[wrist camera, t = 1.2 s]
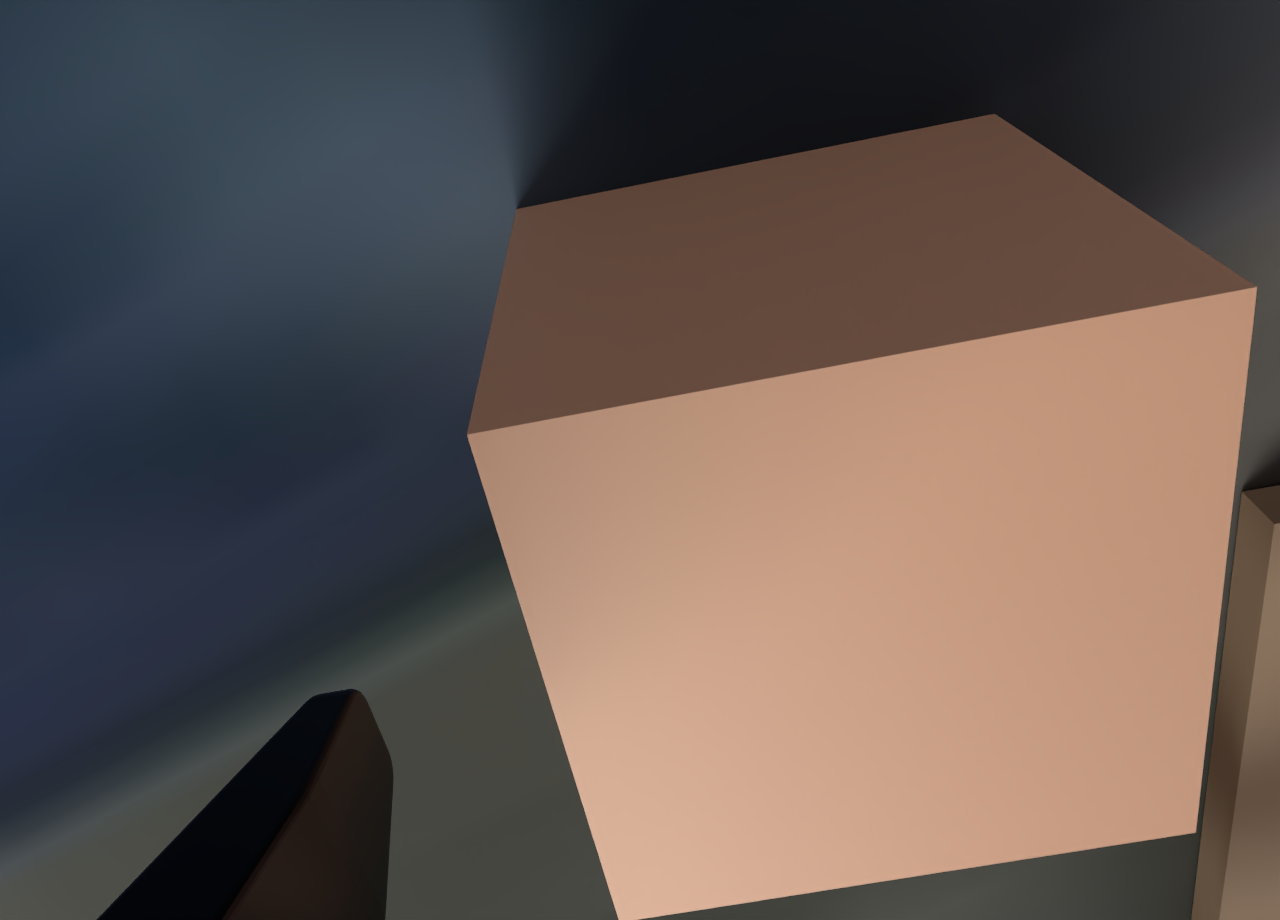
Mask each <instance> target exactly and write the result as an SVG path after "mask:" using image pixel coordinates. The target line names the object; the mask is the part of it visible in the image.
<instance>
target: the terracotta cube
mask: <svg viewBox="0 0 1280 920" xmlns="http://www.w3.org/2000/svg"><path fill="white" fill-rule="evenodd" d="M1256 293H1257V287H1256V286H1255V285H1253V284H1252V283H1250V282H1249V281H1247V280H1246V279H1244V278H1243V277H1241V276H1240V275H1238V274H1237V273H1235V272H1234V271H1232V270H1231V269H1229V268H1228V267H1226V266H1225V265H1223V264H1222V263H1220V262H1219V261H1217V260H1216V259H1214V258H1213V257H1211V256H1210V255H1208V254H1206V253H1205V252H1203V251H1202V250H1200V249H1199V248H1197V247H1196V246H1194V245H1193V244H1191V243H1190V242H1188V241H1187V240H1185V239H1184V238H1182V237H1181V236H1179V235H1178V234H1176V233H1175V232H1173V231H1172V230H1170V229H1169V228H1167V227H1166V226H1164V225H1163V224H1161V223H1159V222H1158V221H1156V220H1155V219H1153V218H1152V217H1150V216H1149V215H1147V214H1146V213H1144V212H1143V211H1141V210H1140V209H1138V208H1137V207H1135V206H1134V205H1132V204H1131V203H1129V202H1128V201H1126V200H1125V199H1123V198H1122V197H1120V196H1119V195H1117V194H1116V193H1114V192H1113V191H1111V190H1109V189H1108V188H1106V187H1105V186H1103V185H1102V184H1100V183H1099V182H1097V181H1096V180H1094V179H1093V178H1091V177H1090V176H1088V175H1087V174H1085V173H1084V172H1082V171H1081V170H1079V169H1078V168H1076V167H1075V166H1073V165H1072V164H1070V163H1069V162H1067V161H1066V160H1064V159H1062V158H1061V157H1059V156H1058V155H1056V154H1055V153H1053V152H1052V151H1050V150H1049V149H1047V148H1046V147H1044V146H1043V145H1041V144H1040V143H1038V142H1037V141H1035V140H1034V139H1032V138H1031V137H1029V136H1028V135H1026V134H1025V133H1023V132H1022V131H1020V130H1019V129H1017V128H1016V127H1014V126H1012V125H1011V124H1009V123H1008V122H1006V121H1005V120H1003V119H1002V118H1000V117H999V116H997V115H996V114H991V115H986V116H981V117H976V118H971V119H966V120H961V121H956V122H951V123H946V124H941V125H936V126H931V127H926V128H921V129H916V130H911V131H906V132H901V133H896V134H891V135H886V136H881V137H875V138H870V139H865V140H860V141H855V142H850V143H845V144H840V145H835V146H830V147H825V148H820V149H815V150H810V151H805V152H800V153H795V154H790V155H785V156H780V157H775V158H770V159H765V160H760V161H755V162H750V163H745V164H740V165H735V166H730V167H725V168H720V169H715V170H710V171H705V172H700V173H695V174H690V175H685V176H680V177H675V178H670V179H665V180H660V181H655V182H650V183H645V184H640V185H635V186H630V187H625V188H620V189H615V190H610V191H605V192H600V193H595V194H590V195H585V196H580V197H575V198H570V199H565V200H560V201H555V202H550V203H545V204H540V205H535V206H530V207H525V208H520V209H516V214H515V218H514V223H513V227H512V232H511V236H510V241H509V246H508V250H507V255H506V259H505V264H504V268H503V273H502V277H501V282H500V287H499V291H498V296H497V300H496V305H495V309H494V314H493V318H492V323H491V328H490V332H489V337H488V341H487V346H486V350H485V355H484V359H483V364H482V369H481V373H480V378H479V382H478V387H477V391H476V396H475V400H474V405H473V410H472V414H471V419H470V423H469V428H468V432H467V436H468V440H469V443H470V446H471V449H472V452H473V455H474V459H475V462H476V465H477V468H478V471H479V475H480V478H481V481H482V484H483V487H484V491H485V494H486V497H487V500H488V503H489V507H490V510H491V513H492V516H493V519H494V523H495V526H496V529H497V532H498V535H499V539H500V542H501V545H502V548H503V551H504V555H505V558H506V561H507V564H508V567H509V570H510V574H511V577H512V580H513V583H514V586H515V590H516V593H517V596H518V599H519V602H520V606H521V609H522V612H523V615H524V618H525V622H526V625H527V628H528V631H529V634H530V638H531V641H532V644H533V647H534V650H535V654H536V657H537V660H538V663H539V666H540V670H541V673H542V676H543V679H544V682H545V685H546V689H547V692H548V695H549V698H550V701H551V705H552V708H553V711H554V714H555V717H556V721H557V724H558V727H559V730H560V733H561V737H562V740H563V743H564V746H565V749H566V753H567V756H568V759H569V762H570V765H571V769H572V772H573V775H574V778H575V781H576V785H577V788H578V791H579V794H580V797H581V801H582V804H583V807H584V810H585V813H586V816H587V820H588V823H589V826H590V829H591V832H592V836H593V839H594V842H595V845H596V848H597V852H598V855H599V858H600V861H601V864H602V868H603V871H604V874H605V877H606V880H607V884H608V887H609V890H610V893H611V896H612V900H613V903H614V906H615V909H616V912H617V916H618V919H619V920H638V919H644V918H651V917H657V916H663V915H670V914H676V913H683V912H689V911H696V910H702V909H708V908H715V907H721V906H728V905H734V904H740V903H747V902H753V901H760V900H766V899H773V898H779V897H785V896H792V895H798V894H805V893H811V892H818V891H824V890H830V889H837V888H843V887H850V886H856V885H863V884H869V883H875V882H882V881H888V880H895V879H901V878H907V877H914V876H920V875H927V874H933V873H940V872H946V871H952V870H959V869H965V868H972V867H978V866H985V865H991V864H997V863H1004V862H1010V861H1017V860H1023V859H1029V858H1036V857H1042V856H1049V855H1055V854H1062V853H1068V852H1074V851H1081V850H1087V849H1094V848H1100V847H1107V846H1113V845H1119V844H1126V843H1132V842H1139V841H1145V840H1151V839H1158V838H1164V837H1171V836H1177V835H1184V834H1190V833H1196V826H1197V817H1198V808H1199V799H1200V791H1201V782H1202V773H1203V764H1204V755H1205V746H1206V737H1207V728H1208V719H1209V711H1210V702H1211V693H1212V684H1213V675H1214V666H1215V657H1216V648H1217V640H1218V631H1219V622H1220V613H1221V604H1222V595H1223V586H1224V577H1225V568H1226V560H1227V551H1228V542H1229V533H1230V524H1231V515H1232V506H1233V497H1234V489H1235V480H1236V471H1237V462H1238V453H1239V444H1240V435H1241V426H1242V417H1243V409H1244V400H1245V391H1246V382H1247V373H1248V364H1249V355H1250V346H1251V338H1252V329H1253V320H1254V311H1255V302H1256Z"/></svg>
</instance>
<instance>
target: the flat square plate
mask: <svg viewBox="0 0 1280 920" xmlns="http://www.w3.org/2000/svg"><path fill="white" fill-rule="evenodd" d="M1191 920H1280V485H1277V486H1272V487H1266V488H1260V489H1254V490H1249V491H1243V492H1242V495H1241V504H1240V512H1239V520H1238V529H1237V537H1236V546H1235V554H1234V563H1233V571H1232V579H1231V588H1230V596H1229V605H1228V613H1227V622H1226V630H1225V639H1224V647H1223V655H1222V664H1221V672H1220V681H1219V689H1218V698H1217V706H1216V714H1215V723H1214V731H1213V740H1212V748H1211V757H1210V765H1209V774H1208V782H1207V790H1206V799H1205V807H1204V816H1203V824H1202V833H1201V841H1200V850H1199V858H1198V866H1197V875H1196V883H1195V892H1194V900H1193V909H1192V917H1191Z"/></svg>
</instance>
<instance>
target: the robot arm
mask: <svg viewBox="0 0 1280 920" xmlns="http://www.w3.org/2000/svg"><path fill="white" fill-rule="evenodd" d="M392 796H393V767H392V761H391V757H390V754H389V751H388V749H387V746H386V744H385V742H384V739H383V737H382V735H381V732H380V730H379V728H378V725H377V723H376V721H375V719H374V716H373V714H372V712H371V709H370V707H369V705H368V702H367V700H366V698H365V697H364V696H363V694H362V693H361V692H360V691H357V690H355V689H347V690H341V691H335V692H330V693H324V694H319V695H316V696H313V697H312V698H310V699H309V700H308V701H307V702H306V703H305V704H304V705H303V706H302V707H301V708H300V709H299V710H298V711H297V712H296V713H295V714H294V715H293V716H292V717H291V718H290V719H289V720H288V721H287V722H286V723H285V724H284V725H283V726H282V728H281V729H280V730H279V731H278V732H277V733H276V734H275V735H274V736H273V737H272V738H271V739H270V740H269V741H268V742H267V743H266V744H265V745H264V746H263V747H262V748H261V749H260V750H259V751H258V752H257V754H256V755H255V756H254V757H253V758H252V759H251V760H250V761H249V762H248V763H247V764H246V765H245V766H244V767H243V768H242V769H241V770H240V771H239V772H238V773H237V774H236V775H235V776H234V777H233V778H232V780H231V781H230V782H229V783H228V784H227V785H226V786H225V787H224V788H223V789H222V790H221V791H220V792H219V793H218V794H217V795H216V796H215V797H214V798H213V799H212V800H211V801H210V802H209V803H208V804H207V806H206V807H205V808H204V809H203V810H202V811H201V812H200V813H199V814H198V815H197V816H196V817H195V818H194V819H193V820H192V821H191V822H190V823H189V824H188V825H187V826H186V827H185V828H184V829H183V830H182V832H181V833H180V834H179V835H178V836H177V837H176V838H175V839H174V840H173V841H172V842H171V843H170V844H169V845H168V846H167V847H166V848H165V849H164V850H163V851H162V852H161V853H160V854H159V855H158V856H157V858H156V859H155V860H154V861H153V862H152V863H151V864H150V865H149V866H148V867H147V868H146V869H145V870H144V871H143V872H142V873H141V874H140V875H139V876H138V877H137V878H136V879H135V880H134V881H133V882H132V884H131V885H130V886H129V887H128V888H127V889H126V890H125V891H124V892H123V893H122V894H121V895H120V896H119V897H118V898H117V899H116V900H115V901H114V902H113V903H112V904H111V905H110V906H109V907H108V908H107V910H106V911H105V912H104V913H103V914H102V915H101V916H100V917H99V918H98V919H97V920H385V916H386V899H387V882H388V865H389V847H390V830H391V813H392Z"/></svg>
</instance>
